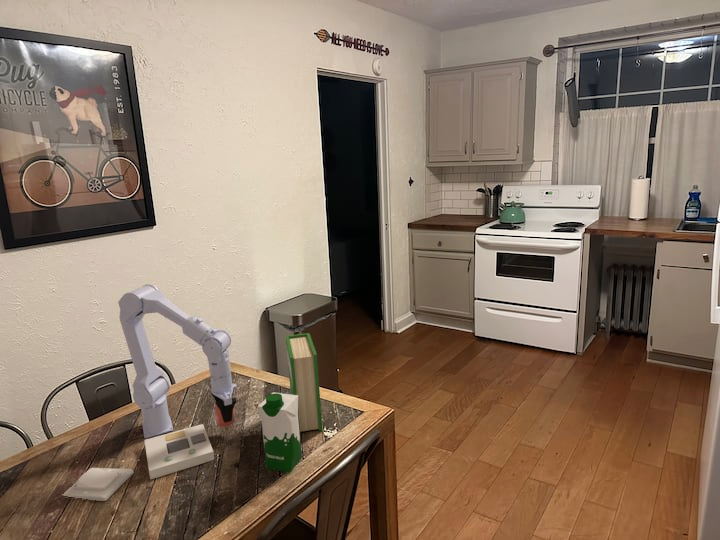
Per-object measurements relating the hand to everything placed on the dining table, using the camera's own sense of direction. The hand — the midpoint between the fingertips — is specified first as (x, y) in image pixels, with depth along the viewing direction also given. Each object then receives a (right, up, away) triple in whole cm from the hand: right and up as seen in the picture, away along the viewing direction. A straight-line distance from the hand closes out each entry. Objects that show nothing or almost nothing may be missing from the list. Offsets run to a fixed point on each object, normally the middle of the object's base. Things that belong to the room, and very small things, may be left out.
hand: (225, 416), depth 142 cm
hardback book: (+23, -3, +8) cm, 24 cm away
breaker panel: (-11, -8, -7) cm, 15 cm away
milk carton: (+19, -8, -14) cm, 25 cm away
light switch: (-27, -12, -18) cm, 35 cm away
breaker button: (-11, -8, -7) cm, 15 cm away
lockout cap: (0, -1, 0) cm, 2 cm away
